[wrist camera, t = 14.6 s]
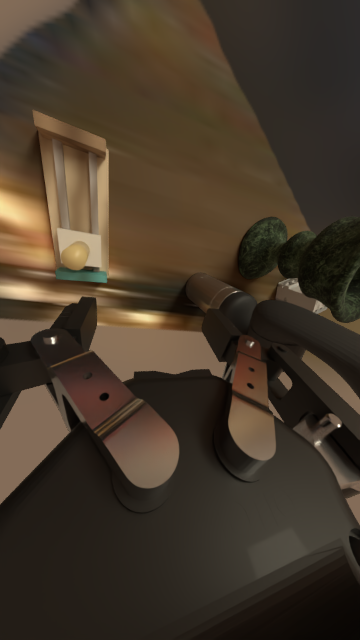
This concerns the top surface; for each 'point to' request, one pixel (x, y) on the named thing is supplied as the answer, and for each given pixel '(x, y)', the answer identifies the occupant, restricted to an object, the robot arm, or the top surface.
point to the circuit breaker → (297, 296)
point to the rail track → (75, 189)
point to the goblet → (310, 261)
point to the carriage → (79, 249)
